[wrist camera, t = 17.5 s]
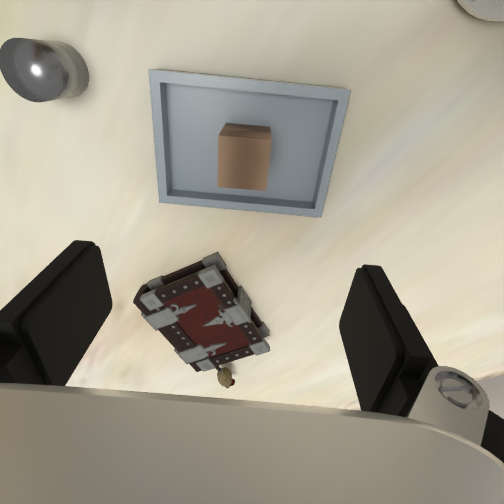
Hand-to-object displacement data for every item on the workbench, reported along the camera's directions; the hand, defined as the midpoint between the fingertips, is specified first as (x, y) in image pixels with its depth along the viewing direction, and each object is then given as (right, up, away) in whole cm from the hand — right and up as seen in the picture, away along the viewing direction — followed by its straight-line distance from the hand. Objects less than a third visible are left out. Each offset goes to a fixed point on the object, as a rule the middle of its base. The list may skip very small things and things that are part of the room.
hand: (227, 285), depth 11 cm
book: (-5, -11, +41) cm, 43 cm away
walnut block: (0, +13, +24) cm, 28 cm away
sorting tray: (0, +14, +25) cm, 28 cm away
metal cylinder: (-19, +21, +21) cm, 35 cm away
